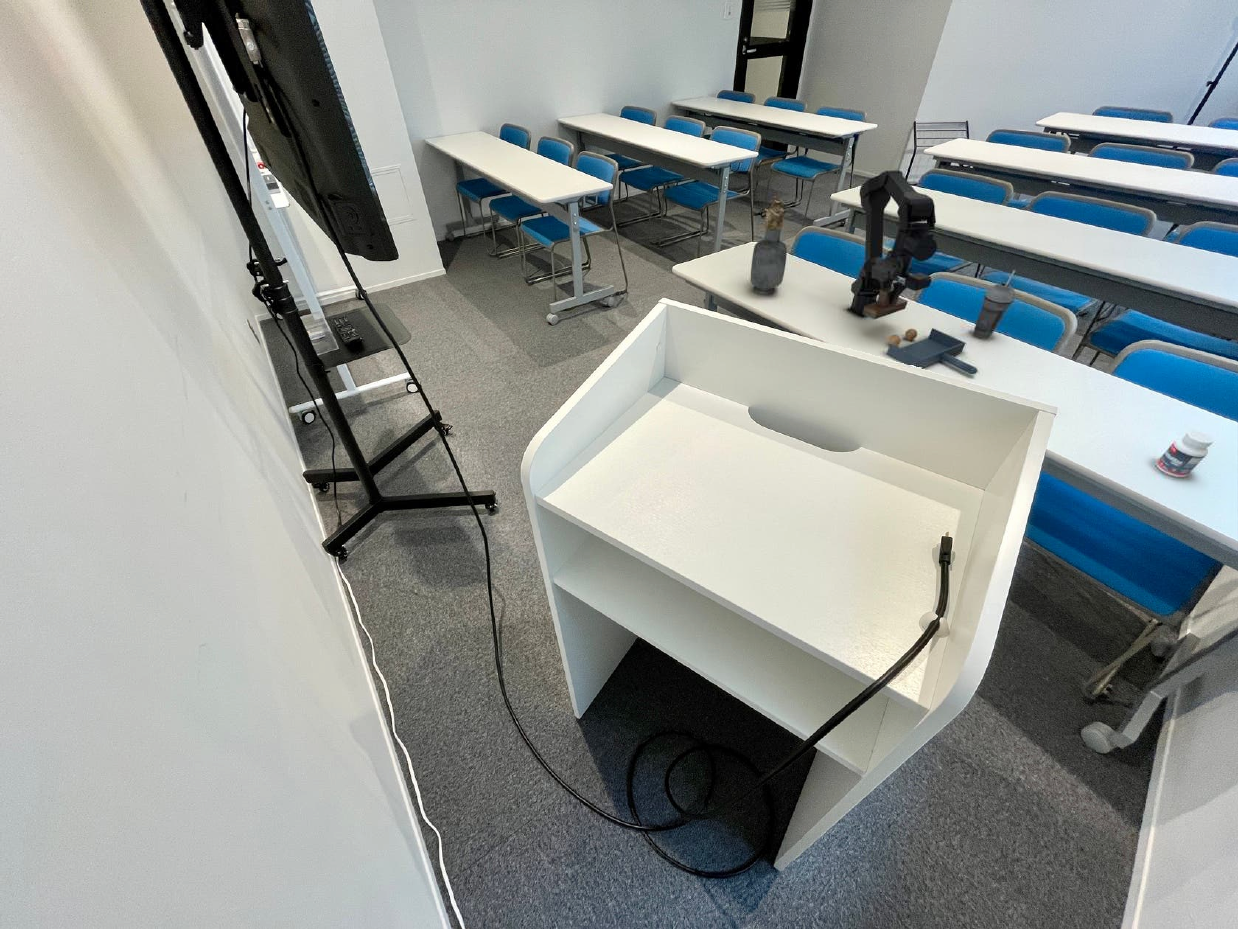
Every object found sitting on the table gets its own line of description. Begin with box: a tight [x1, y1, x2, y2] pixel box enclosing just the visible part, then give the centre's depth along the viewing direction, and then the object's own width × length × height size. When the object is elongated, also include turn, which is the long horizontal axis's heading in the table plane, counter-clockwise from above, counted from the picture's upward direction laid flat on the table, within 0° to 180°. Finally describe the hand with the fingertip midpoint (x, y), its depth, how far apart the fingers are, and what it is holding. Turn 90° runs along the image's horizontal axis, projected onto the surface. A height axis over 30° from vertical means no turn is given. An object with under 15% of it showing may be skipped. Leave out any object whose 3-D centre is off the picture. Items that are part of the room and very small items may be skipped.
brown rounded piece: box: [904, 328, 918, 341], centre depth 155 cm, size 3×3×3 cm
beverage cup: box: [972, 269, 1017, 340], centre depth 150 cm, size 7×7×20 cm
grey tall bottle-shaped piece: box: [750, 195, 790, 296], centre depth 177 cm, size 11×19×30 cm, turn 169°
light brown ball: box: [887, 334, 902, 347], centre depth 153 cm, size 3×3×3 cm
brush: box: [863, 285, 909, 320], centre depth 154 cm, size 4×13×7 cm, turn 119°
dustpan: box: [886, 327, 978, 375], centre depth 145 cm, size 20×18×3 cm
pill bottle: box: [1155, 430, 1215, 478], centre depth 108 cm, size 5×5×9 cm
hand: (886, 301), depth 155 cm, fingers closed on brush, 2 cm apart
